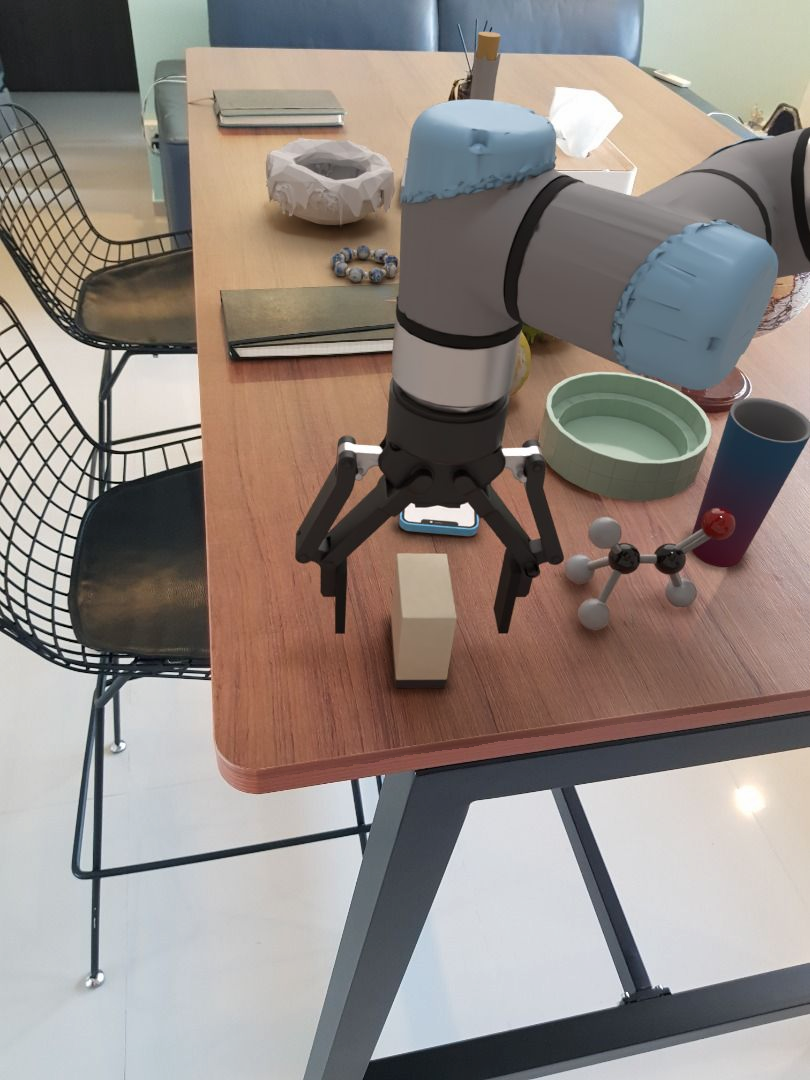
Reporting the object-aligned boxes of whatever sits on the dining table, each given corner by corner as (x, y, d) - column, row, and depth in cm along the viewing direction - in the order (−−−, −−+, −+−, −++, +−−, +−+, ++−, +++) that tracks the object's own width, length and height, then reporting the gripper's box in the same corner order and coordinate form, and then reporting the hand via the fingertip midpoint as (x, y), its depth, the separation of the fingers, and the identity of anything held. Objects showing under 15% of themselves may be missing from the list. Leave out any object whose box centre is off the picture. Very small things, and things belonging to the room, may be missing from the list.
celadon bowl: (718, 508, 87) (736, 464, 83) (554, 506, 85) (565, 461, 82) (668, 414, 100) (681, 373, 96) (524, 411, 98) (532, 369, 94)
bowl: (365, 191, 148) (367, 129, 141) (413, 237, 134) (418, 171, 127) (248, 200, 140) (245, 136, 134) (287, 250, 127) (285, 181, 120)
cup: (724, 522, 85) (779, 393, 75) (766, 567, 81) (830, 436, 71) (666, 532, 83) (714, 402, 73) (705, 579, 79) (762, 447, 69)
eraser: (445, 688, 67) (457, 618, 62) (395, 688, 67) (402, 618, 61) (437, 622, 72) (447, 553, 67) (390, 622, 72) (396, 552, 66)
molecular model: (559, 569, 78) (583, 477, 71) (685, 570, 79) (721, 479, 72) (579, 636, 72) (607, 542, 65) (714, 636, 73) (757, 544, 66)
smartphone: (475, 442, 91) (479, 530, 80) (474, 451, 92) (477, 539, 81) (406, 436, 91) (399, 523, 80) (405, 445, 92) (398, 533, 80)
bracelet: (361, 291, 118) (361, 277, 117) (316, 266, 123) (316, 253, 122) (411, 273, 124) (412, 260, 122) (366, 251, 129) (367, 238, 127)
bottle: (410, 260, 127) (429, 31, 107) (449, 238, 134) (473, 20, 115) (475, 283, 123) (507, 49, 103) (512, 259, 130) (548, 36, 110)
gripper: (625, 357, 56) (562, 587, 71) (255, 345, 54) (267, 586, 68) (658, 420, 51) (582, 657, 65) (247, 410, 48) (261, 658, 63)
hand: (420, 621), depth 67 cm, fingers open, 12 cm apart
